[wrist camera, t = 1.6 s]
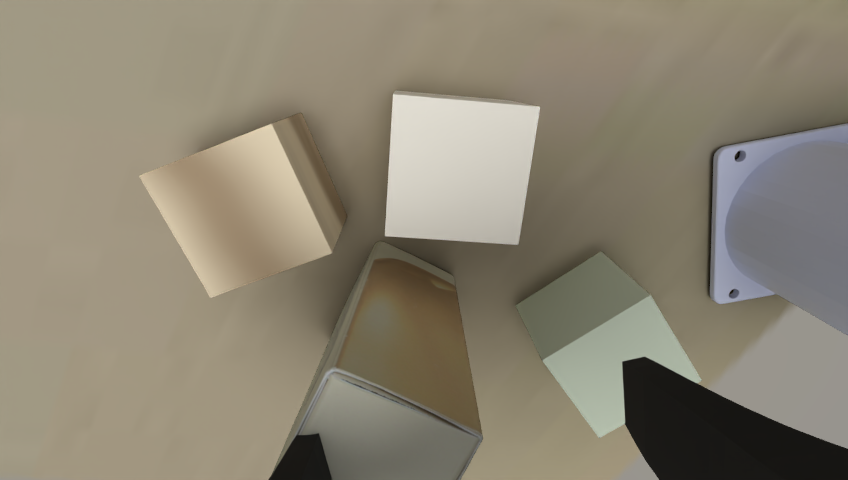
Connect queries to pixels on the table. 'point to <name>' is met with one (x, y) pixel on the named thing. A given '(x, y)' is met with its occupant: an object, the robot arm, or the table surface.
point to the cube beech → (250, 205)
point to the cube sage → (599, 336)
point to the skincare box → (395, 378)
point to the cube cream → (459, 167)
